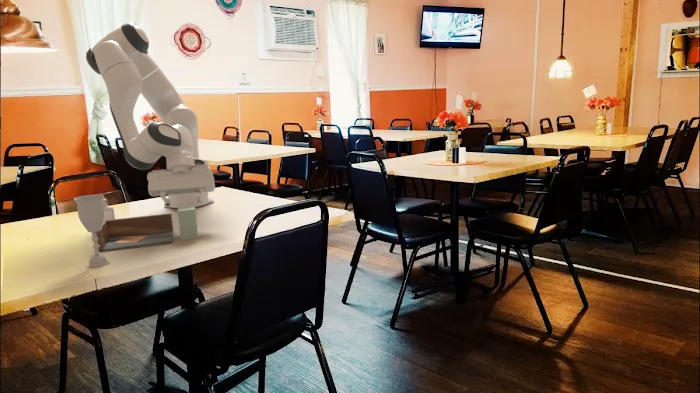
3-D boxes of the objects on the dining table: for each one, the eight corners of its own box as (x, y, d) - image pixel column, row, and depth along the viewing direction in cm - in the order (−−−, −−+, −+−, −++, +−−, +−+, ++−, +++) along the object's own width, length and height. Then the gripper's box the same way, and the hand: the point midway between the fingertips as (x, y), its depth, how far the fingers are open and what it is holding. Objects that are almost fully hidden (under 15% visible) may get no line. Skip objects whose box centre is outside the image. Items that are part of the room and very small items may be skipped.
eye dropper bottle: (110, 233, 168) (104, 196, 166) (95, 232, 170) (89, 196, 167) (118, 229, 172) (114, 194, 170) (104, 229, 174) (99, 193, 171)
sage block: (181, 236, 161) (177, 207, 159) (197, 234, 162) (194, 205, 161) (180, 240, 156) (177, 211, 155) (198, 238, 158) (195, 209, 156)
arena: (105, 239, 161) (102, 220, 160) (173, 231, 167) (171, 213, 165) (97, 252, 148) (94, 231, 147) (171, 243, 153) (169, 223, 152)
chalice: (98, 258, 142) (88, 194, 138) (119, 260, 140) (110, 194, 136) (77, 267, 135) (66, 199, 131) (99, 269, 133) (88, 200, 129)
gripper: (145, 164, 164) (146, 200, 157) (212, 160, 170) (216, 195, 162) (148, 176, 169) (149, 212, 162) (213, 171, 175) (216, 206, 167)
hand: (183, 203), depth 162 cm, fingers open, 8 cm apart
